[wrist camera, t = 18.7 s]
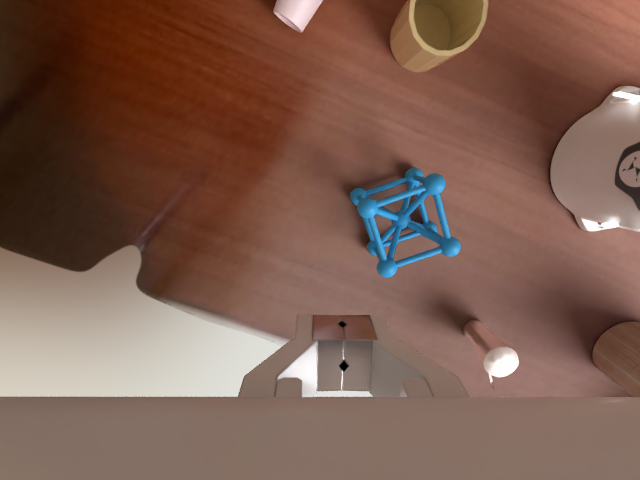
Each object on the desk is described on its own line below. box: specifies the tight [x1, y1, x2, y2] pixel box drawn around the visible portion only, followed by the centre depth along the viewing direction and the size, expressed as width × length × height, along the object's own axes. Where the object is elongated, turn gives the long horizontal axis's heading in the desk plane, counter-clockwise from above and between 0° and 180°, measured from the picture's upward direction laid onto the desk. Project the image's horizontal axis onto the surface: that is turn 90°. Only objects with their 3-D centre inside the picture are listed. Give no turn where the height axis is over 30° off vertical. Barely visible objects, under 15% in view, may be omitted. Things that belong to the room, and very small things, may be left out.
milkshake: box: [463, 320, 519, 389], centre depth 47 cm, size 5×5×10 cm
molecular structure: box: [350, 168, 461, 278], centre depth 41 cm, size 10×10×10 cm
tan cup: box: [390, 0, 488, 72], centre depth 36 cm, size 8×8×8 cm
